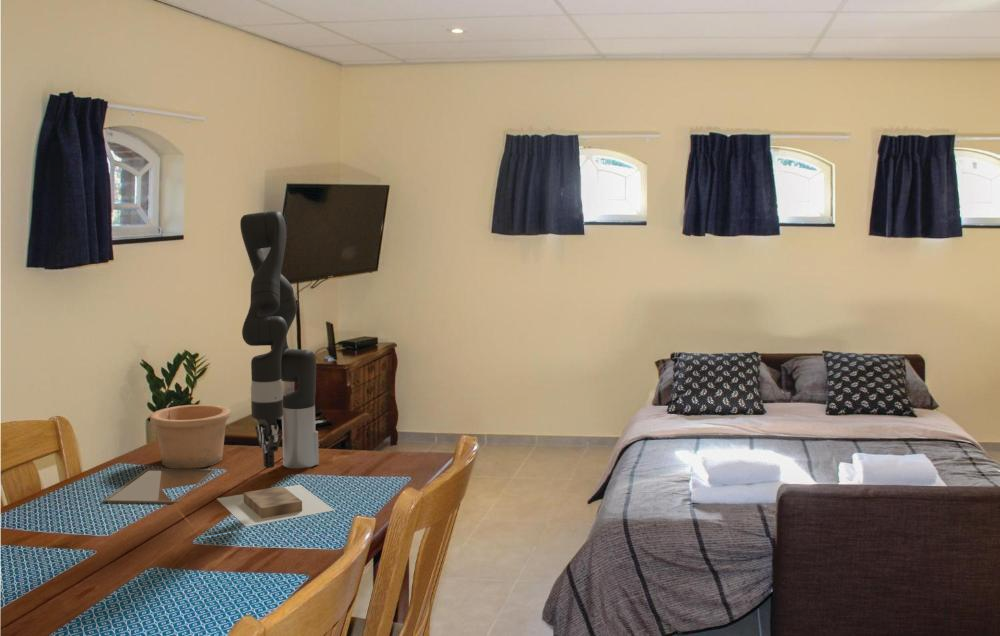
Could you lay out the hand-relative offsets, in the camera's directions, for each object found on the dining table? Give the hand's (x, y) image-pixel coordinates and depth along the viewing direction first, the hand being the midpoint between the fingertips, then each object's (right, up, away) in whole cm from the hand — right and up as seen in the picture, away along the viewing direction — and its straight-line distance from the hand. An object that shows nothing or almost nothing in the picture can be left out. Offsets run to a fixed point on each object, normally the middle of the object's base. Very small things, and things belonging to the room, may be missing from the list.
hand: (269, 467), depth 233 cm
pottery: (-32, -5, +41) cm, 53 cm away
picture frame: (-33, -9, +18) cm, 38 cm away
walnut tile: (-3, -8, +6) cm, 10 cm away
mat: (+1, -10, +2) cm, 10 cm away
